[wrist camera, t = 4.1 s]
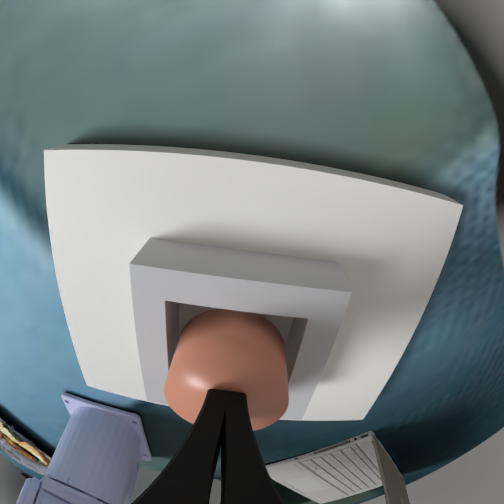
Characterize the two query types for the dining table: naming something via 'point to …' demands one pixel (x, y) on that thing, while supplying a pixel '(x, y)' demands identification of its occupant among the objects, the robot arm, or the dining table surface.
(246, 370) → the button
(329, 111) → the dining table surface
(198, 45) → the dining table surface
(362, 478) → the laptop
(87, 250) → the button panel
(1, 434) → the food plate
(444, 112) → the dining table surface
